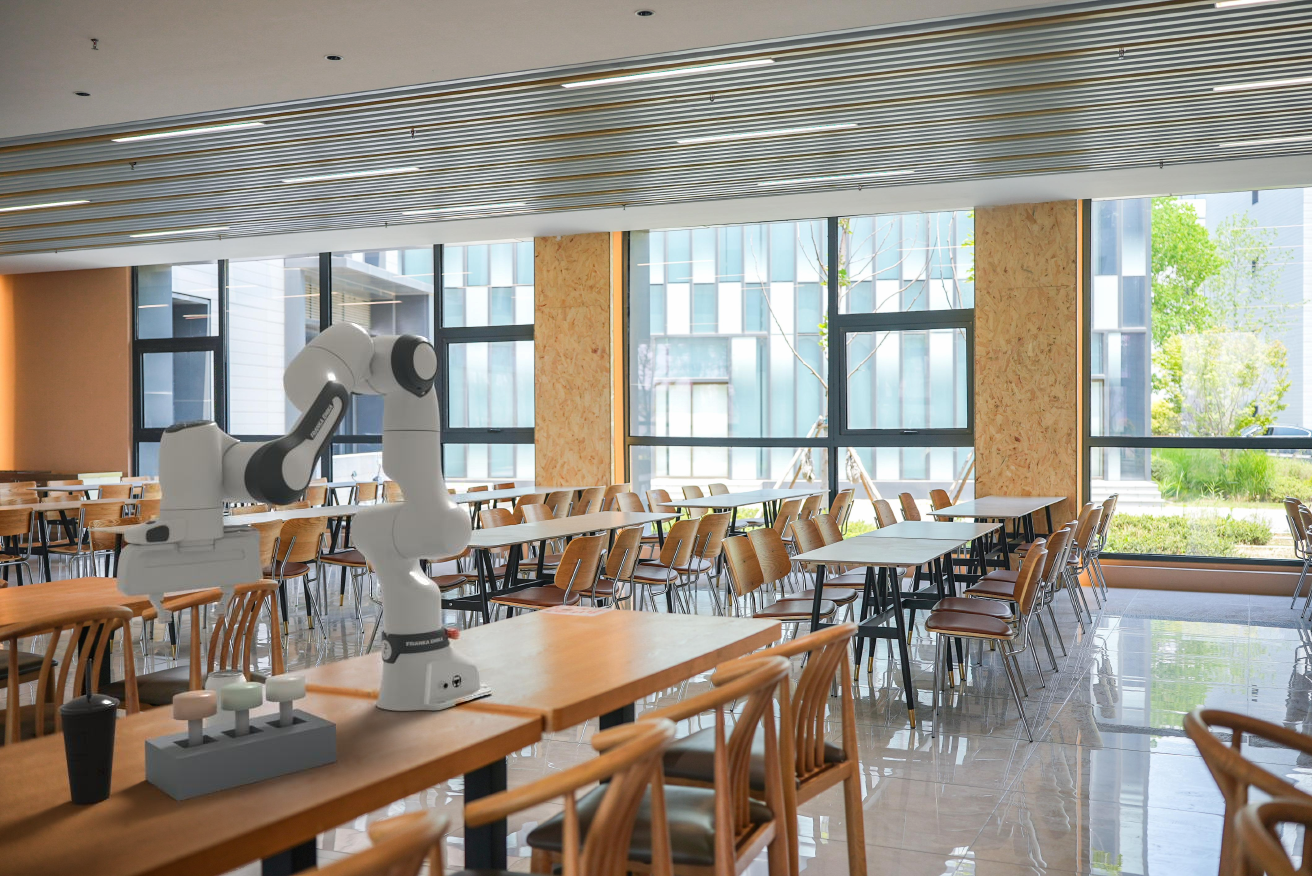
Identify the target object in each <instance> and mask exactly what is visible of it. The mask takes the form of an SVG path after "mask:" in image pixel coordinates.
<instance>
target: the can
mask: <svg viewBox="0 0 1312 876" xmlns="http://www.w3.org/2000/svg"><path fill="white" fill-rule="evenodd" d="M242 682H247V679H246V677H245V675H244V670H243V669H239V668H238V669H237V668H235V669H234V668H231V669H221V670H216V671H211V672H209V673H208V674H207V680H206V682H205V685H204V686H205V687H204V690H212V691H216V692H217V713H216V714H215V715H213V716H210V717H207V718H205V727H210V726H215V725H220V724H225V723H230V722H235V711H226V710H222V709H221V687H223V686H226V685H229V684H234V683H242Z"/></svg>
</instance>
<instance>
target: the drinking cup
mask: <svg viewBox="0 0 1312 876" xmlns="http://www.w3.org/2000/svg"><path fill="white" fill-rule="evenodd" d="M92 683H93V682H92V659H91V658H90V659H89V658H88V659H85V686H86V687H85V690H86V691H85V692H86V694H85V695H81V696H78V697H75V698H72V699H70V700H68V701H67V702H66V703H64V704H61V705H59V707H58V713H59V714H60V717H61V727H62V734H63V741H64V750H65V758H66V766H67V775H68V783H69V791H70V798H71V799H70V800H71V803H72V804H73V805H81V806H83V805H91V804H96V803H100V802H102V801H105V800H107V799H109V798H110V796H111V790H112V789H111V787H112V778H113V777H112V775H113V764H114V763H113V762H114V750H115V736H116V726H117V725H116V723H117V713H118V706H119V705H120V699H118V698H117V697H116V698H115V697H112V696H109V695H106V694H98V693H97V694H96V693H93V692H92V691H93V690H92V689H93V686H92ZM108 797H109V798H108Z"/></svg>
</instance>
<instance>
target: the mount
mask: <svg viewBox="0 0 1312 876" xmlns="http://www.w3.org/2000/svg"><path fill="white" fill-rule="evenodd" d="M337 749H338V748H337V723H335V722H333V721H330V720H328V719H325V718H323V717H320V716H317V715H314V714H313V713H309V712H307V711H304V710H301V709H299V708H295V709H294V708H293V725H291V726H287V727H282V728H280V712H276V713H269V714H266V715H265V714H264V715H259V716H256V717H249V735H245V736H240V737H236V733H235V722H230V723H225V724H220V725H215V726H210V727H206V726H205V727H203V745H199V746H194V747H189V748H188V730H187V731H182V732H176V733H173V734H168V735H161V736H157V737H153V738H148V739H144V755H145V756H144V762H145V763H144V765H145V766H144V770H145V772H144V774H145V776H144V777H145V780H146V781H147V780H148V781H147V782H149V783H150V782H151V783H150V784H152V785H153V784H154V785H153V786H154V787H156V786H157V787H156V788H158V789H159V790H161V791H162V792H164V793H165V794H166V795H168V796H170V797H171V798H173V800H175V801H177V802H180V801H184V800H187V799H188V800H189V799H193V798H195V797H201V796H204V794H205V795H208V793H209V794H212V793H211V792H213V793H216V792H215V791H217V792H219V791H218V790H221V791H224V789H225V790H229V789H232V788H236V787H242V786H244V785H248V784H252V783H255V782H256V783H257V782H261V781H264V780H269V779H272V778H277V777H280V776H285V775H289V774H293V773H297V772H300V771H305V770H309V769H313V768H317V767H320V765H321V766H324V765H323V764H325V765H329V764H332V762H333V763H337V762H336V761H338V754H337V753H338V752H337V751H338V750H337ZM328 763H329V764H328ZM316 766H317V767H316ZM312 767H313V768H312ZM200 795H201V796H200Z"/></svg>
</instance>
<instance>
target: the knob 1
mask: <svg viewBox="0 0 1312 876" xmlns="http://www.w3.org/2000/svg"><path fill="white" fill-rule="evenodd" d="M216 713H217V692H216V691H212V690H205V689H200V690H190V691H185V692H182V693H180V692H179V693H178V694H175V695H173V696H172V718H173V720H175V721H187V731H188V748H189V747H194V746H199V745H203V728H204V726H203V722H204V721H203V719H206V718H207V717H210V716H213V715H215V714H216Z"/></svg>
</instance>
